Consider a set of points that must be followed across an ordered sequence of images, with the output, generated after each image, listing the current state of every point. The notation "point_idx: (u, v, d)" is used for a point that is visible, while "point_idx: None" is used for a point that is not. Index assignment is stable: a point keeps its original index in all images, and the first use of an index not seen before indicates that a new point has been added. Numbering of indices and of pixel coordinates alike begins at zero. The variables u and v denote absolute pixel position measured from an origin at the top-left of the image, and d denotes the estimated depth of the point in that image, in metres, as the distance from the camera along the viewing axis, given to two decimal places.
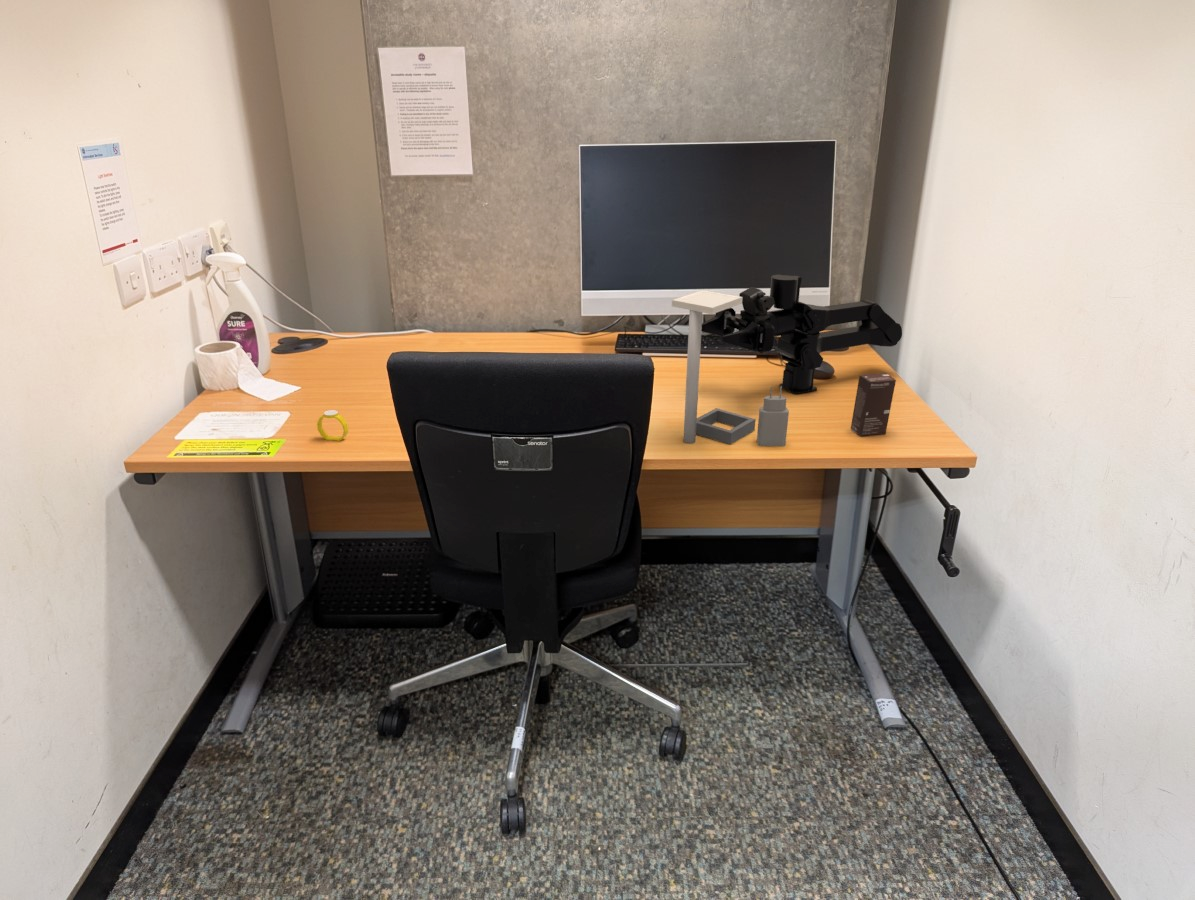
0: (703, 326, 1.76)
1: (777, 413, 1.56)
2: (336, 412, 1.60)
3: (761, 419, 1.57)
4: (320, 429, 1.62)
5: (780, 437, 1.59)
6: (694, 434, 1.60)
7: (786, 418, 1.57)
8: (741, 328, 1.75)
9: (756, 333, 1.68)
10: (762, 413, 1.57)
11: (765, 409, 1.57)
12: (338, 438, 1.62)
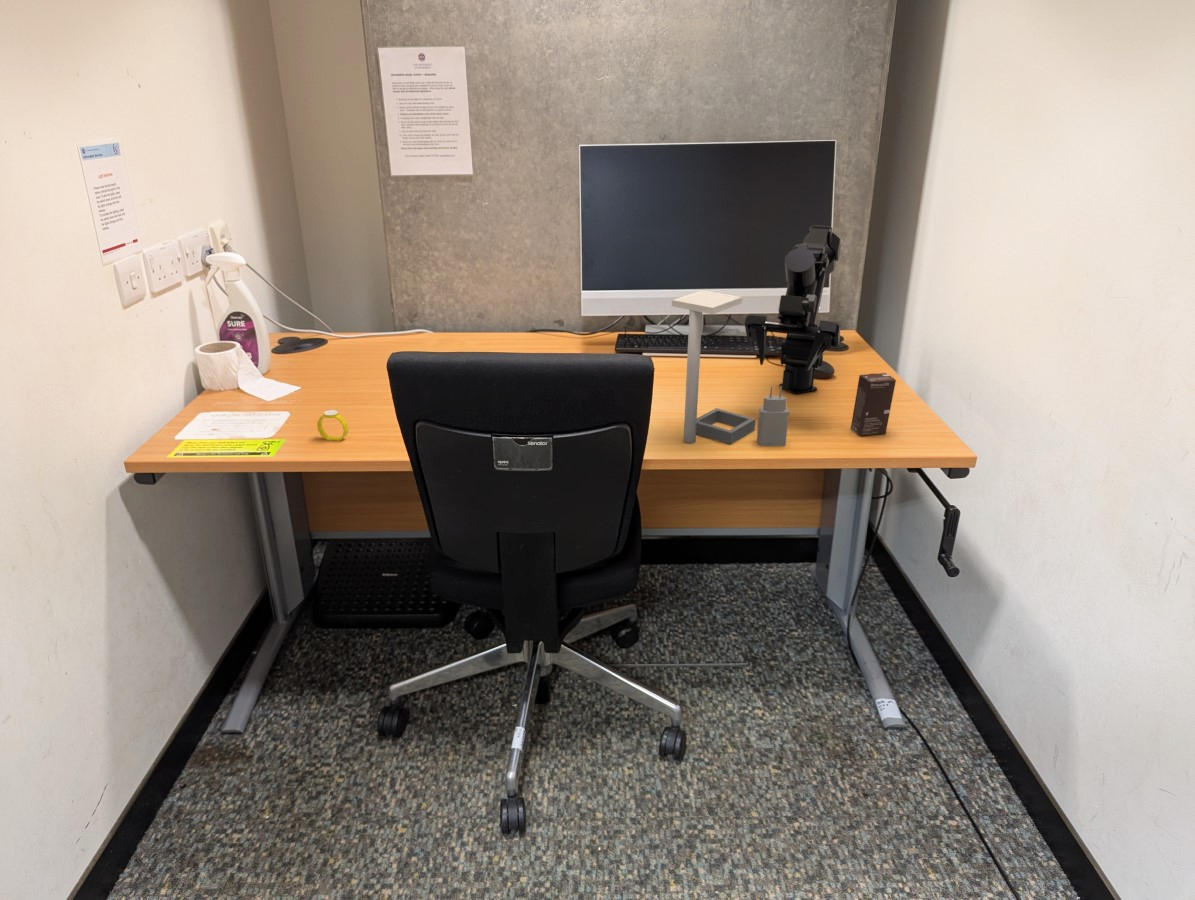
0: (763, 358, 1.63)
1: (777, 413, 1.56)
2: (336, 412, 1.60)
3: (761, 419, 1.57)
4: (320, 429, 1.62)
5: (780, 437, 1.59)
6: (694, 434, 1.60)
7: (786, 418, 1.57)
8: (792, 332, 1.64)
9: (828, 340, 1.60)
10: (762, 413, 1.57)
11: (765, 409, 1.57)
12: (338, 438, 1.62)
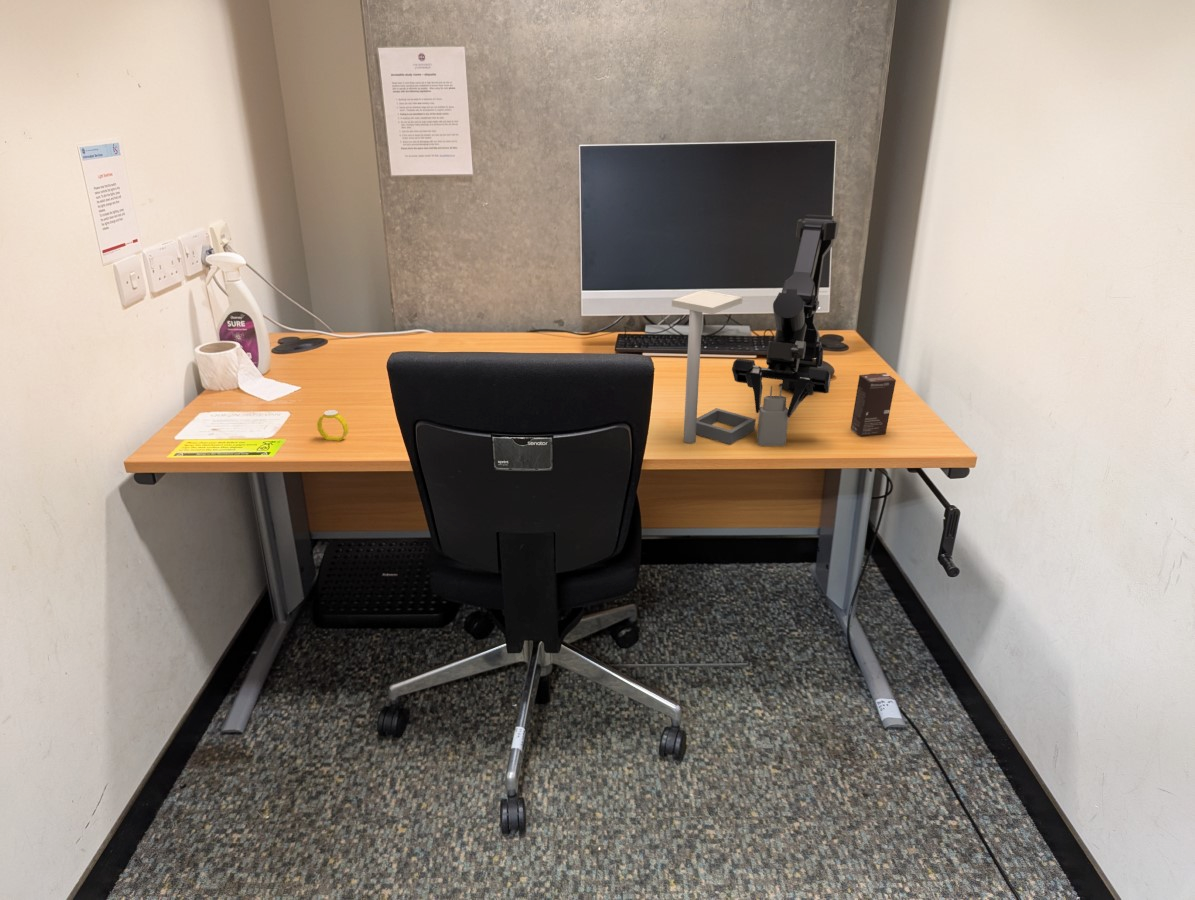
0: (759, 406, 1.58)
1: (777, 413, 1.56)
2: (336, 412, 1.60)
3: (761, 419, 1.57)
4: (320, 429, 1.62)
5: (780, 437, 1.59)
6: (694, 434, 1.60)
7: (786, 418, 1.57)
8: (781, 378, 1.59)
9: (809, 386, 1.56)
10: (762, 413, 1.57)
11: (765, 409, 1.57)
12: (338, 438, 1.62)
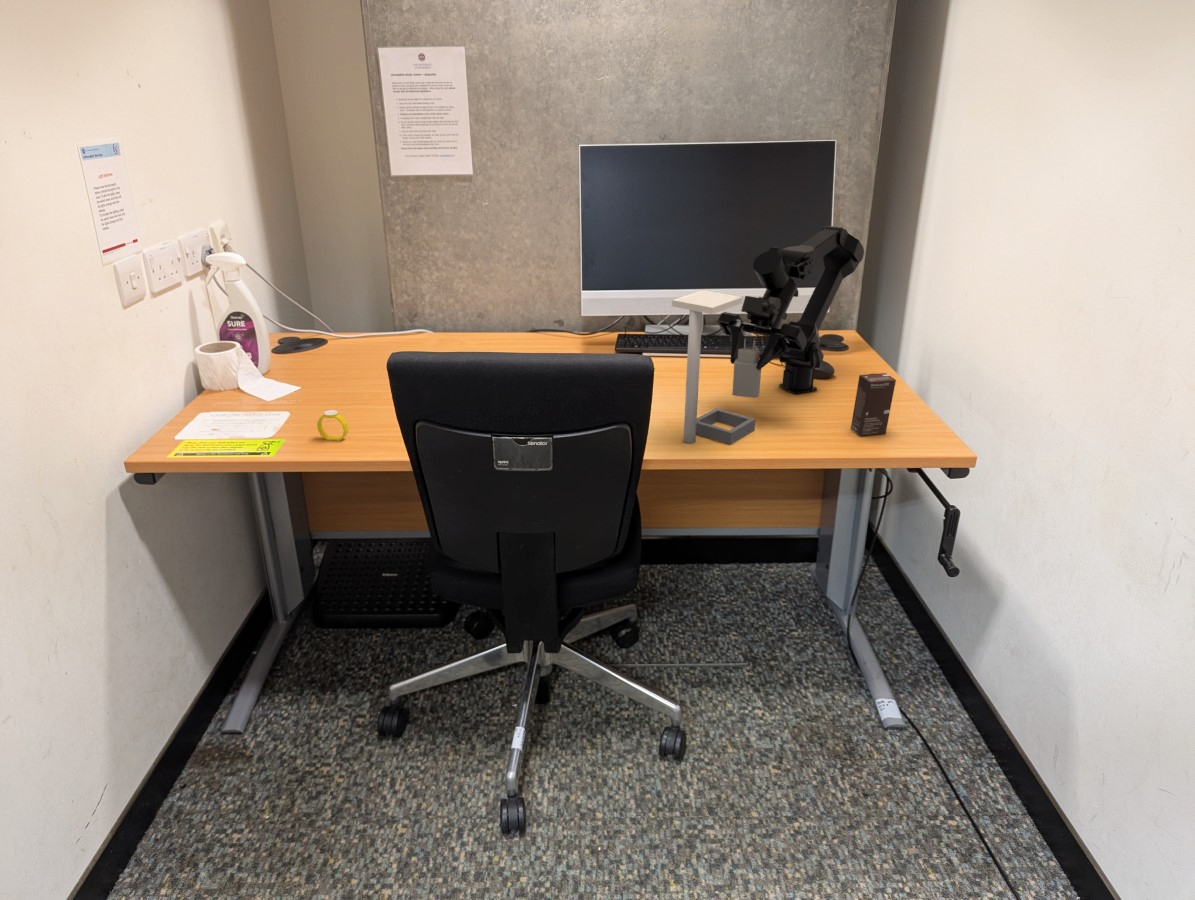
0: (734, 358, 1.67)
1: (748, 365, 1.65)
2: (336, 412, 1.60)
3: (734, 369, 1.67)
4: (320, 429, 1.62)
5: (752, 389, 1.67)
6: (694, 434, 1.60)
7: (757, 370, 1.65)
8: (761, 333, 1.67)
9: (781, 341, 1.63)
10: (734, 364, 1.66)
11: (738, 360, 1.66)
12: (338, 438, 1.62)
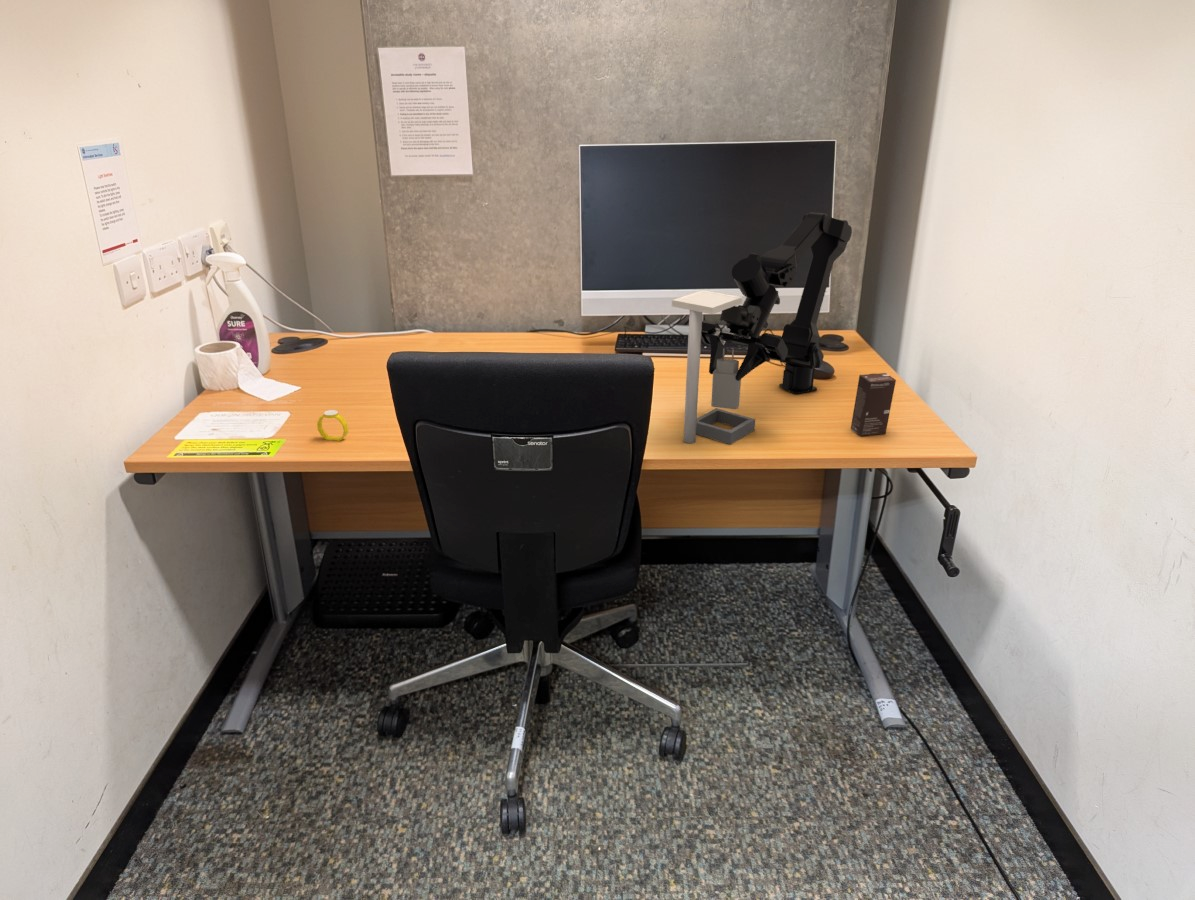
0: (713, 368, 1.62)
1: (727, 375, 1.59)
2: (336, 412, 1.60)
3: None
4: (320, 429, 1.62)
5: (731, 400, 1.61)
6: (694, 434, 1.60)
7: (736, 381, 1.59)
8: (740, 343, 1.61)
9: (761, 351, 1.57)
10: (713, 374, 1.61)
11: (717, 371, 1.61)
12: (338, 438, 1.62)
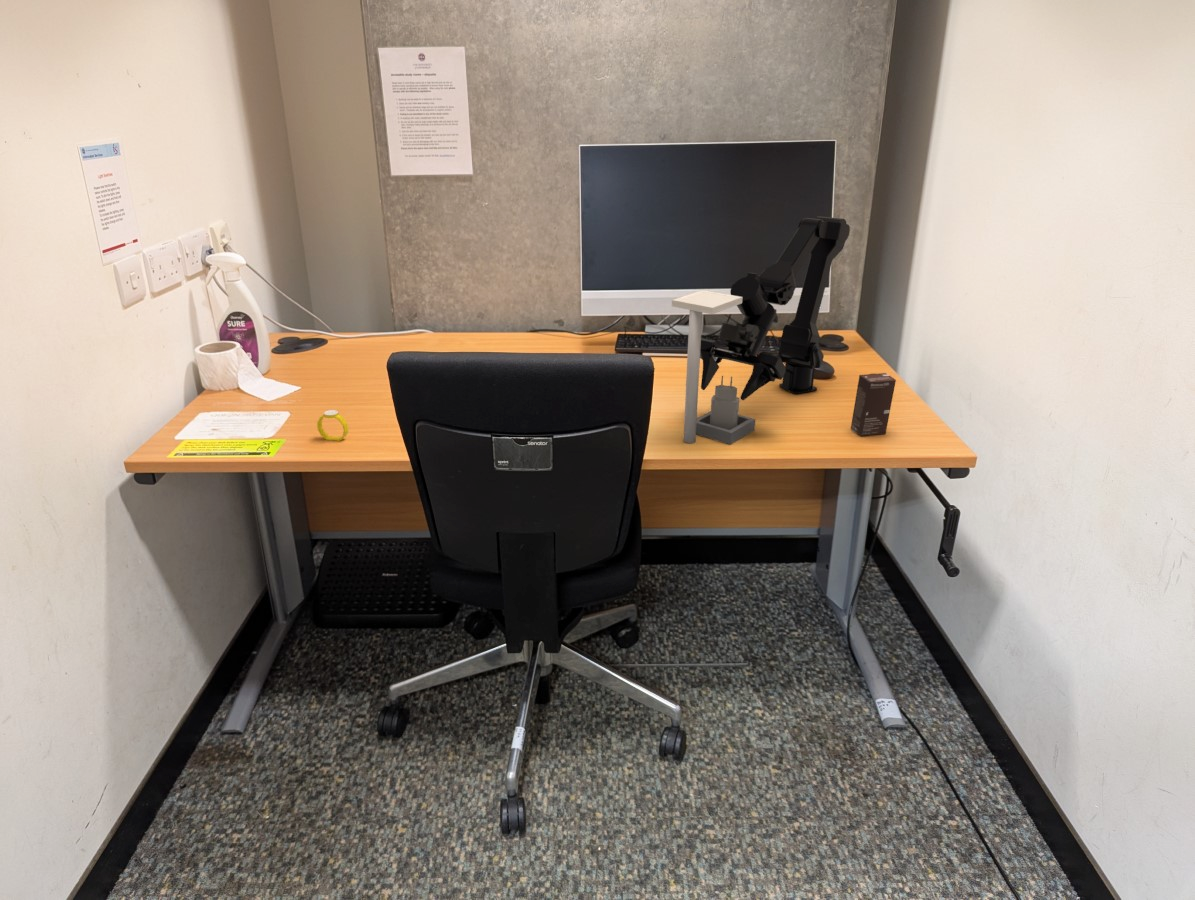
0: (705, 384, 1.64)
1: (725, 402, 1.62)
2: (336, 412, 1.60)
3: (711, 406, 1.64)
4: (320, 429, 1.62)
5: (729, 426, 1.64)
6: (694, 434, 1.60)
7: (734, 408, 1.62)
8: (739, 361, 1.63)
9: (766, 371, 1.58)
10: (711, 400, 1.63)
11: (716, 397, 1.63)
12: (338, 438, 1.62)
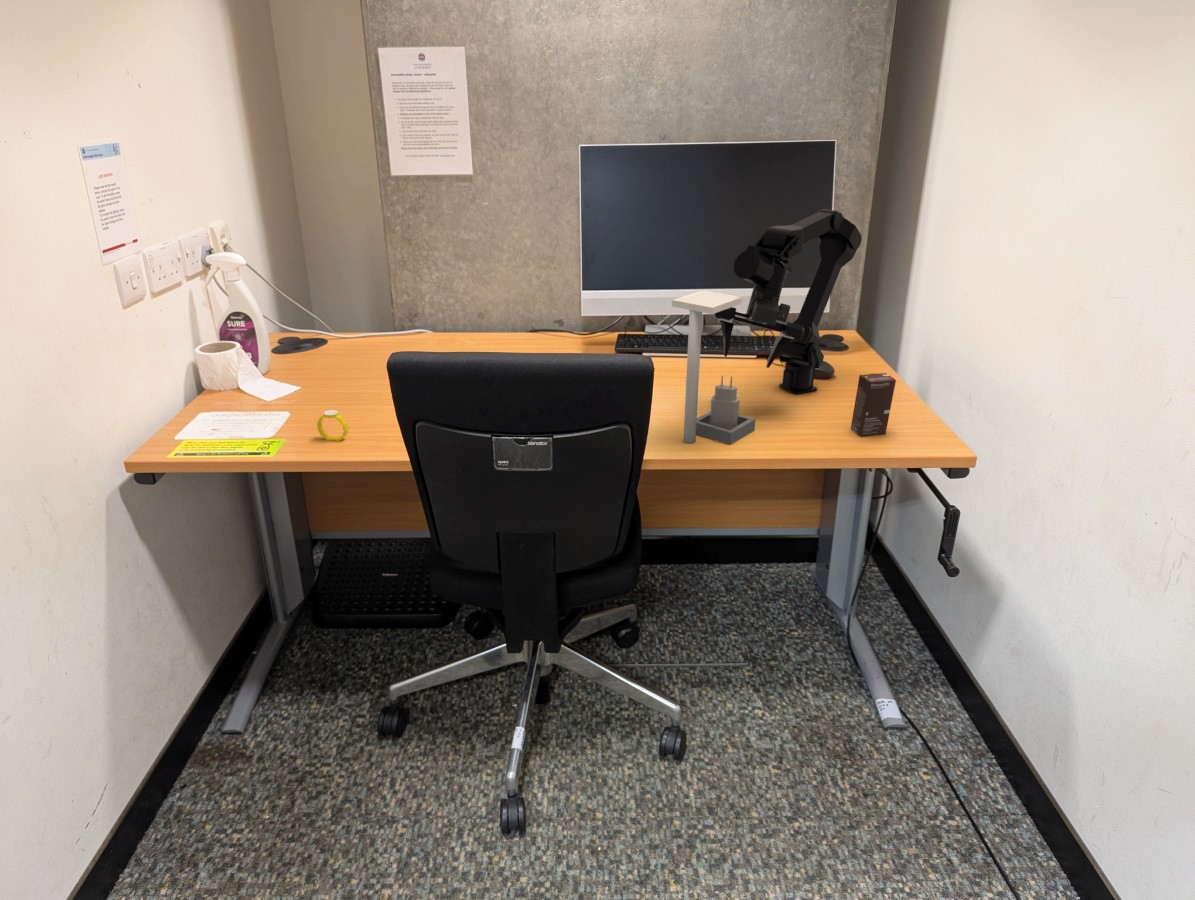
0: (727, 351, 1.69)
1: (725, 402, 1.62)
2: (336, 412, 1.60)
3: (711, 406, 1.64)
4: (320, 429, 1.62)
5: (729, 426, 1.64)
6: (694, 434, 1.60)
7: (734, 408, 1.62)
8: None
9: (790, 341, 1.68)
10: (711, 400, 1.63)
11: (716, 397, 1.63)
12: (338, 438, 1.62)
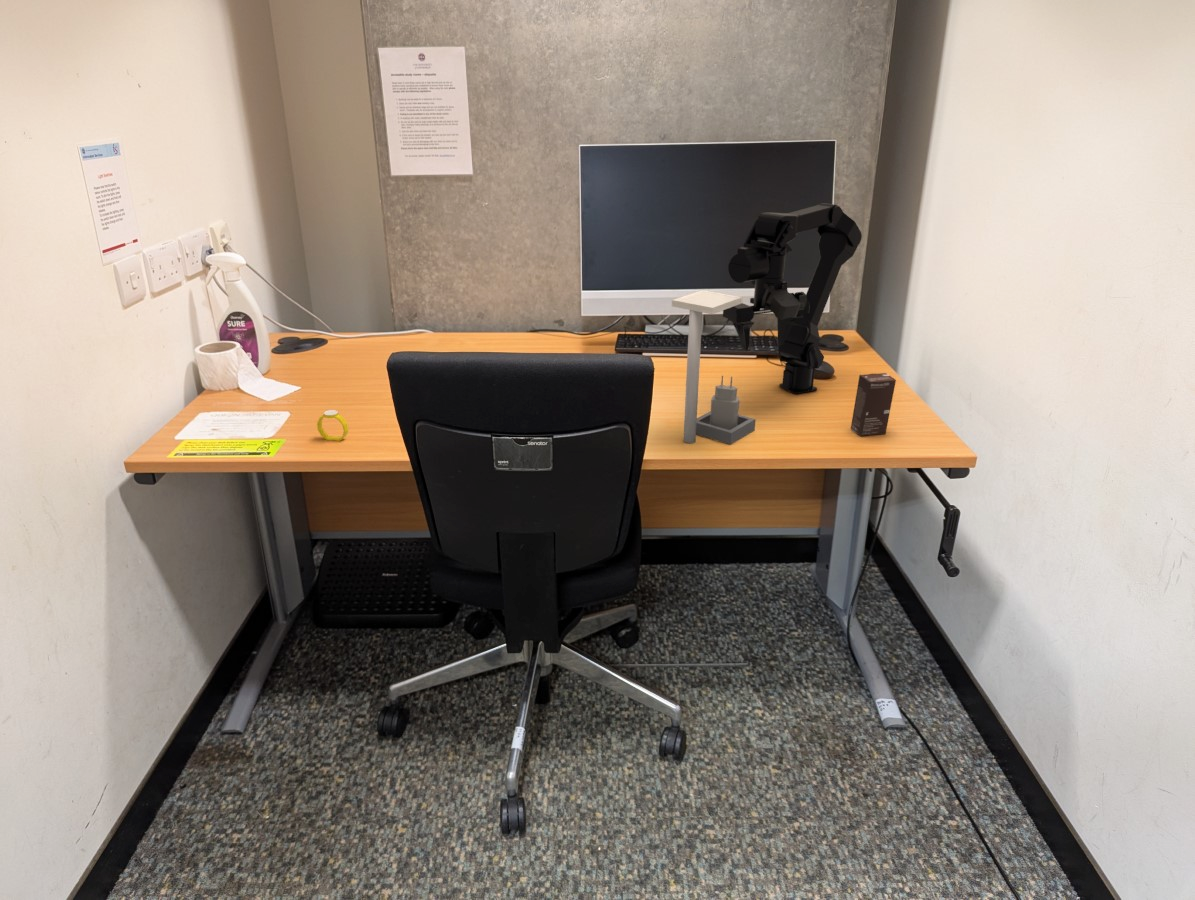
0: None
1: (725, 402, 1.62)
2: (336, 412, 1.60)
3: (711, 406, 1.64)
4: (320, 429, 1.62)
5: (729, 426, 1.64)
6: (694, 434, 1.60)
7: (734, 408, 1.62)
8: None
9: None
10: (711, 400, 1.63)
11: (716, 397, 1.63)
12: (338, 438, 1.62)
